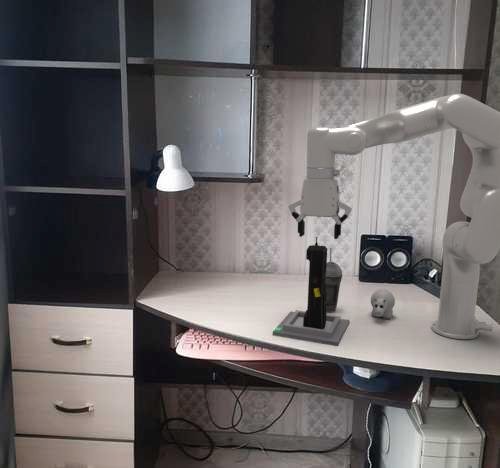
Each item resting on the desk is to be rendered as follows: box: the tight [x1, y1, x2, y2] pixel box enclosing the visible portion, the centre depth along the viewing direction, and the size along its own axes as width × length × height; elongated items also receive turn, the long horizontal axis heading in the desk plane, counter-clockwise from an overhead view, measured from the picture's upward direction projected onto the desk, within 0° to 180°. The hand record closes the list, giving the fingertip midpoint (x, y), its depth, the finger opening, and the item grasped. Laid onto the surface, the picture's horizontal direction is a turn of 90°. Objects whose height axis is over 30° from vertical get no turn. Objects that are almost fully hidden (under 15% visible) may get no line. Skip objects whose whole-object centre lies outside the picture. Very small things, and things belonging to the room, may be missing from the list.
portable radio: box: [303, 236, 328, 330], centre depth 138 cm, size 8×6×25 cm
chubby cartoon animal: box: [370, 288, 396, 320], centre depth 150 cm, size 7×12×8 cm, turn 154°
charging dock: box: [272, 309, 350, 347], centre depth 140 cm, size 18×18×2 cm
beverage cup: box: [325, 247, 343, 314], centre depth 155 cm, size 7×7×20 cm
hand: (318, 237), depth 136 cm, fingers open, 9 cm apart
